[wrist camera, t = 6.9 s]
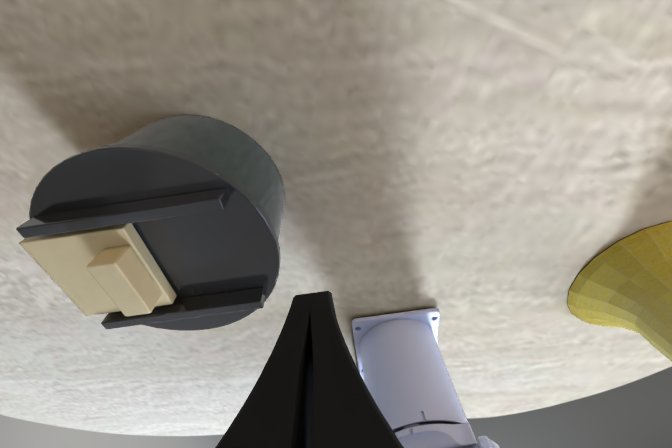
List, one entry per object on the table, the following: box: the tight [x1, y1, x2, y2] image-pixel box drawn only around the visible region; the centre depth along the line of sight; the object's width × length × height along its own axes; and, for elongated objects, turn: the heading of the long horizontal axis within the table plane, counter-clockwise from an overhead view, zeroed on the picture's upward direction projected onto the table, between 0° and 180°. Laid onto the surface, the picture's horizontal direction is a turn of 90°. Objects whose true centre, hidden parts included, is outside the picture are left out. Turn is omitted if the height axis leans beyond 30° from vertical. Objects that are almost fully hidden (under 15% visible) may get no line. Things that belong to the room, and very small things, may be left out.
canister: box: [16, 115, 285, 330], centre depth 16 cm, size 11×11×8 cm
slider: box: [19, 223, 177, 316], centre depth 13 cm, size 4×5×2 cm
